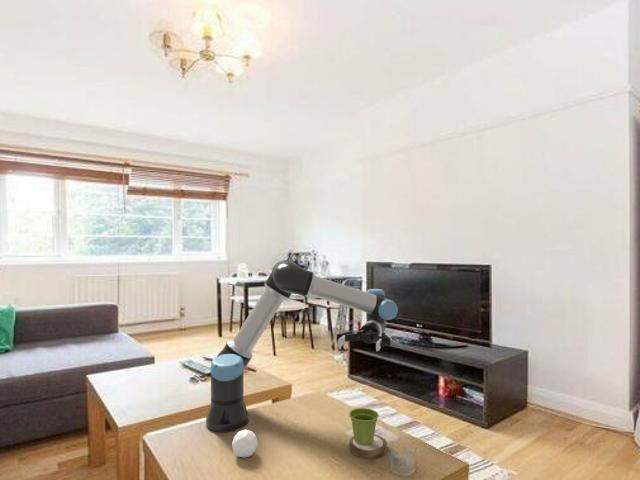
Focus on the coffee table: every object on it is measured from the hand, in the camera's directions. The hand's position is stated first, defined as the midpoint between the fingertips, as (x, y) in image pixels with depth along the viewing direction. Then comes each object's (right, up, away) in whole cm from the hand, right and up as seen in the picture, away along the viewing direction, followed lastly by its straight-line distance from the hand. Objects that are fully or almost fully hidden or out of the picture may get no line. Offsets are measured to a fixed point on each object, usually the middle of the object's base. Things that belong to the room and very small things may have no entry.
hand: (357, 345), depth 142 cm
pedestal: (+2, -30, -11) cm, 32 cm away
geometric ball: (-37, -30, -15) cm, 50 cm away
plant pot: (+1, -28, -10) cm, 30 cm away
